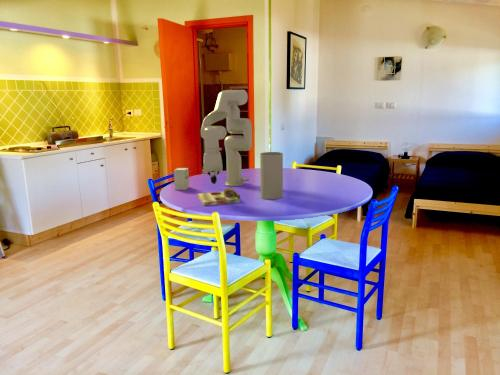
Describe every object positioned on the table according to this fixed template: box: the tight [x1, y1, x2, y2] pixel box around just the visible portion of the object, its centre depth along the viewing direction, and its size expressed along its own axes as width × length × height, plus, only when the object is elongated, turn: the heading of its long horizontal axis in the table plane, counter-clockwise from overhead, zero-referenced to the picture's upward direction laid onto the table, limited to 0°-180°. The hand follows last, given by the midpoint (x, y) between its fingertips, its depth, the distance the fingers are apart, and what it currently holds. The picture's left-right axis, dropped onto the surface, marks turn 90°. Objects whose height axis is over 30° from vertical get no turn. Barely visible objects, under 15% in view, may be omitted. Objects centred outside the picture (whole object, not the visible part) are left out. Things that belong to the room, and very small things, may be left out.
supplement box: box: [173, 167, 190, 191], centre depth 259 cm, size 7×7×13 cm
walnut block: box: [223, 187, 233, 197], centre depth 232 cm, size 4×4×4 cm
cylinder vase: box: [259, 151, 284, 201], centre depth 233 cm, size 12×12×25 cm
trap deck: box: [197, 187, 241, 207], centre depth 232 cm, size 20×20×4 cm
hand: (213, 183), depth 230 cm, fingers closed
